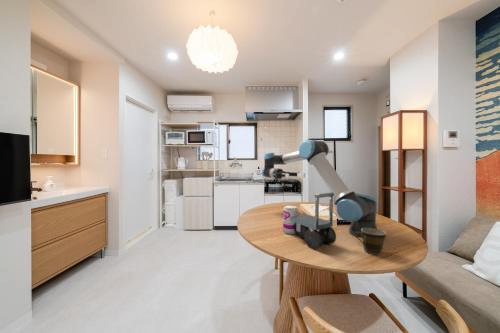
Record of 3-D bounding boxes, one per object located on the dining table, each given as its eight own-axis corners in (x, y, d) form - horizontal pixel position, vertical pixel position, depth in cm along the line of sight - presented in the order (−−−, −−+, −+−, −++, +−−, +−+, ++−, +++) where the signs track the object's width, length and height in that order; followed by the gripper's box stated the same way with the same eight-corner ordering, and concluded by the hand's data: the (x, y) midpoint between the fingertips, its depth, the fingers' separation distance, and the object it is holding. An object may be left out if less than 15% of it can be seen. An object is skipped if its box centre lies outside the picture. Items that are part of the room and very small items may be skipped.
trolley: (287, 236, 118) (288, 188, 117) (303, 232, 124) (304, 187, 123) (318, 251, 99) (319, 195, 98) (335, 246, 105) (337, 193, 104)
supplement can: (288, 235, 120) (288, 208, 119) (280, 230, 127) (280, 205, 127) (300, 233, 123) (300, 207, 122) (291, 229, 131) (292, 204, 130)
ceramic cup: (378, 248, 104) (379, 228, 103) (389, 258, 94) (390, 235, 93) (350, 247, 105) (351, 227, 105) (359, 256, 95) (359, 234, 95)
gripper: (289, 178, 164) (310, 180, 146) (262, 179, 151) (281, 182, 133) (289, 168, 164) (310, 169, 145) (262, 168, 151) (282, 170, 133)
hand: (296, 175), depth 139 cm, fingers open, 13 cm apart
